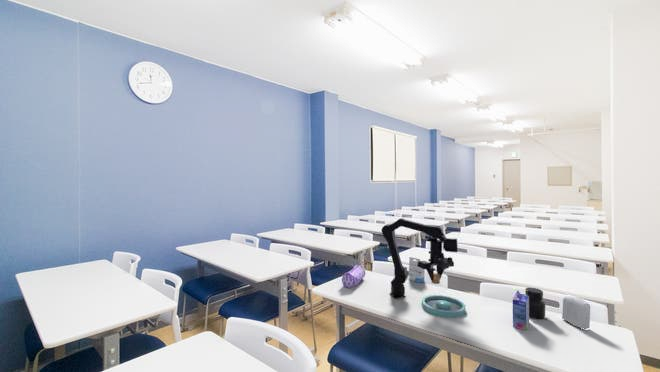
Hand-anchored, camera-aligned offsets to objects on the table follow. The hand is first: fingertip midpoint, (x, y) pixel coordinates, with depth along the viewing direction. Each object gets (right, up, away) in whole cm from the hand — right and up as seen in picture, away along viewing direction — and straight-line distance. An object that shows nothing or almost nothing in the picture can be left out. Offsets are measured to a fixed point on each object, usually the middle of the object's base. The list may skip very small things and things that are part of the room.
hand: (435, 280), depth 155 cm
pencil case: (-40, -11, +28) cm, 50 cm away
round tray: (+1, -12, -6) cm, 13 cm away
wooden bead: (0, -1, 0) cm, 1 cm away
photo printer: (+54, -13, -23) cm, 60 cm away
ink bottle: (+42, -12, -14) cm, 45 cm away
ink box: (0, -11, +33) cm, 35 cm away
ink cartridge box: (+30, -13, -23) cm, 39 cm away
